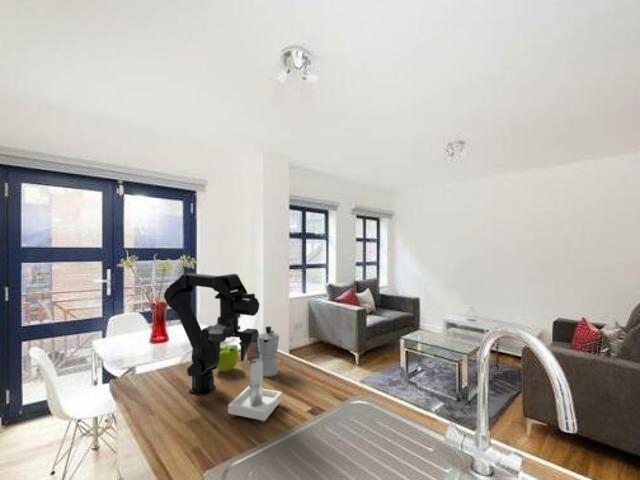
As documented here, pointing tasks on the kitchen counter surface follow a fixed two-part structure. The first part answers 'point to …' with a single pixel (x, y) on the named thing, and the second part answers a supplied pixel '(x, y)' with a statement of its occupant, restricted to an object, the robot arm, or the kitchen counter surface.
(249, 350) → the lighter
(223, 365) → the fruit
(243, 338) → the robot arm
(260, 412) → the white square tray
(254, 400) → the cylinder
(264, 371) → the coffee maker
